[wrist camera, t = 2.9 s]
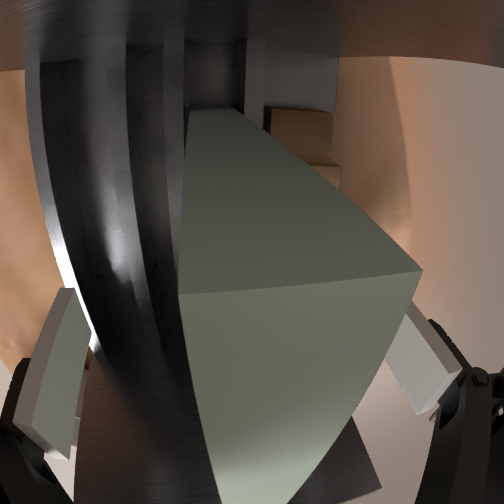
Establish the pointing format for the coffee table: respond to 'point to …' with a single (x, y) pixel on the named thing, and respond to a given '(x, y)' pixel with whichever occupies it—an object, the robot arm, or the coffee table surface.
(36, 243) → the coffee table surface
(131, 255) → the rack
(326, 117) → the offcut lower
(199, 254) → the sage panel
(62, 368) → the robot arm
